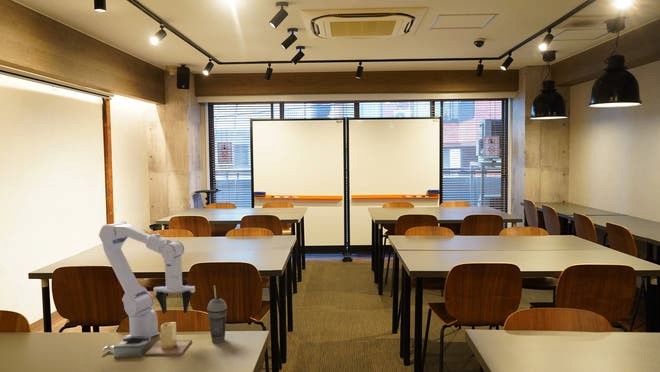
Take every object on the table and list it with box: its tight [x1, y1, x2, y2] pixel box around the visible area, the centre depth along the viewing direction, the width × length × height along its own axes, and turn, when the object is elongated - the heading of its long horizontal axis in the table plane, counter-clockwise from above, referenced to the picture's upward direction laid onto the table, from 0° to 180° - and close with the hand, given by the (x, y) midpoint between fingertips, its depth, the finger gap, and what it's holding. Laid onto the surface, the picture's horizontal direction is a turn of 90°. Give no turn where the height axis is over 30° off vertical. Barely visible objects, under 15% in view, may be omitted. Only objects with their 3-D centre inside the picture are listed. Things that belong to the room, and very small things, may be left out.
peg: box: [160, 321, 178, 349], centre depth 164 cm, size 4×4×8 cm
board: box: [144, 339, 193, 357], centre depth 165 cm, size 12×12×1 cm
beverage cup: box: [206, 285, 228, 344], centre depth 171 cm, size 7×7×20 cm
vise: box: [101, 335, 152, 358], centre depth 162 cm, size 9×14×4 cm, turn 90°
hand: (175, 312), depth 172 cm, fingers open, 7 cm apart
